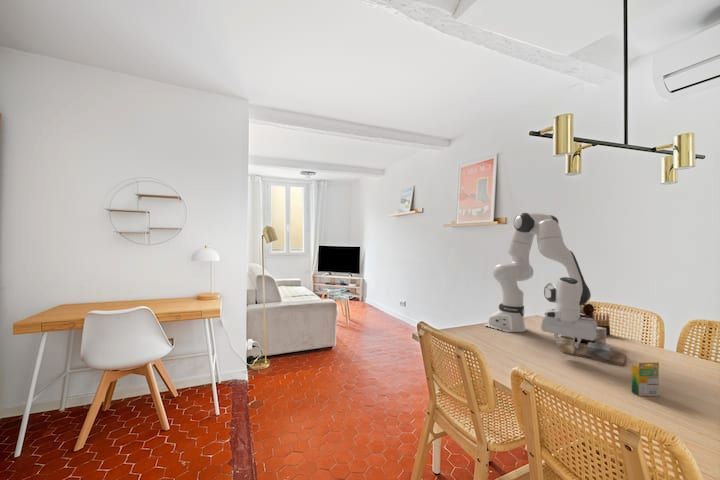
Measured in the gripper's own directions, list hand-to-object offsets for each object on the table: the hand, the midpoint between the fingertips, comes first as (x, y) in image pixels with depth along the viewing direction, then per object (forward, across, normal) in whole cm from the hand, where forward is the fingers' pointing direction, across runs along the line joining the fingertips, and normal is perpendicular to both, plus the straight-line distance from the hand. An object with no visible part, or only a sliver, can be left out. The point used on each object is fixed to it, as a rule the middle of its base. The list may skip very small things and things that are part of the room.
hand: (567, 345), depth 139 cm
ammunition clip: (+7, -7, -55) cm, 56 cm away
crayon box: (+6, -26, +18) cm, 32 cm away
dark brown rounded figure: (+7, -2, -37) cm, 38 cm away
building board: (+6, -8, -16) cm, 19 cm away
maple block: (+2, 0, 0) cm, 2 cm away
